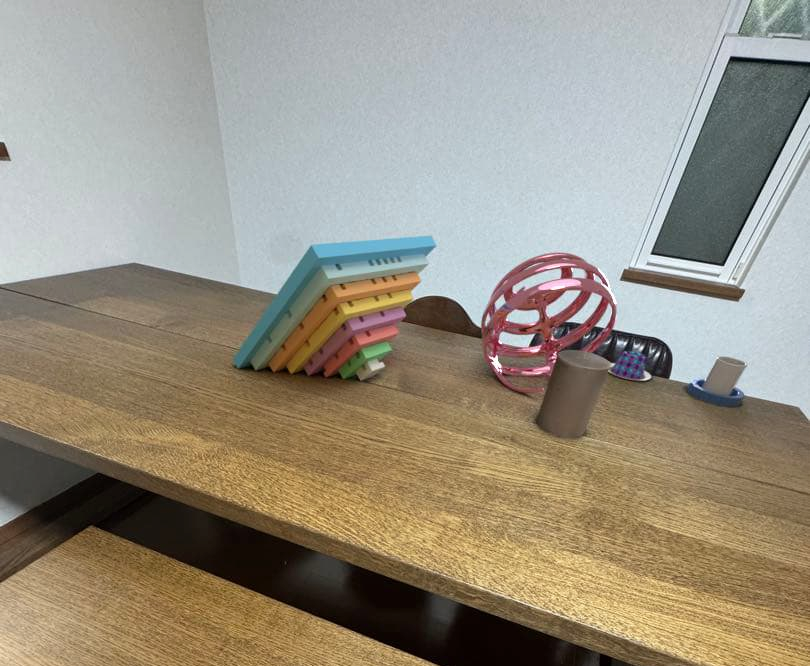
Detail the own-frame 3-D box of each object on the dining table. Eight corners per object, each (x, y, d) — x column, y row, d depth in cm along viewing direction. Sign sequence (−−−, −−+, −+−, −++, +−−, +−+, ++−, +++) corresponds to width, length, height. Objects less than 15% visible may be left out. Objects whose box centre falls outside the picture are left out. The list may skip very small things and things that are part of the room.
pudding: (653, 375, 121) (662, 355, 118) (645, 387, 113) (654, 366, 110) (609, 362, 126) (617, 343, 122) (598, 373, 118) (605, 353, 114)
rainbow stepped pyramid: (277, 431, 100) (368, 346, 74) (232, 359, 97) (311, 244, 71) (375, 389, 123) (471, 314, 97) (341, 330, 120) (431, 235, 94)
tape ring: (725, 391, 117) (730, 382, 115) (747, 411, 108) (753, 401, 106) (679, 385, 117) (683, 375, 116) (697, 404, 108) (702, 394, 106)
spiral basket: (652, 326, 80) (621, 207, 87) (494, 350, 83) (475, 233, 89) (604, 409, 107) (583, 313, 114) (485, 424, 110) (472, 330, 116)
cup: (719, 394, 115) (739, 358, 109) (730, 404, 110) (752, 367, 104) (693, 390, 115) (712, 354, 109) (704, 400, 110) (724, 363, 104)
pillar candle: (529, 415, 93) (552, 340, 84) (574, 418, 95) (601, 344, 85) (544, 438, 86) (570, 358, 76) (592, 441, 87) (624, 363, 78)
